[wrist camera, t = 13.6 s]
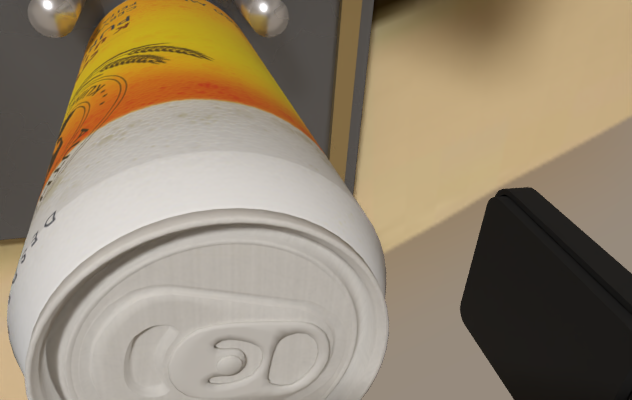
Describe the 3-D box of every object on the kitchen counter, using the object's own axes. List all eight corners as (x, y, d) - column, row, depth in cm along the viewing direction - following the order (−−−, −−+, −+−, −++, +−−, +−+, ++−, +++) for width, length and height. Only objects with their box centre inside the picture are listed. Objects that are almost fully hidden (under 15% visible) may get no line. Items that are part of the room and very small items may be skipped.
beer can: (88, -30, 18) (-23, 170, 6) (265, 5, 20) (466, 207, 8) (82, 138, 21) (-3, 523, 8) (238, 153, 23) (357, 480, 10)
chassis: (373, -106, 20) (435, -102, 16) (343, 195, 27) (382, 256, 23) (-126, -142, 16) (-222, -149, 12) (-21, 226, 23) (-59, 307, 18)
